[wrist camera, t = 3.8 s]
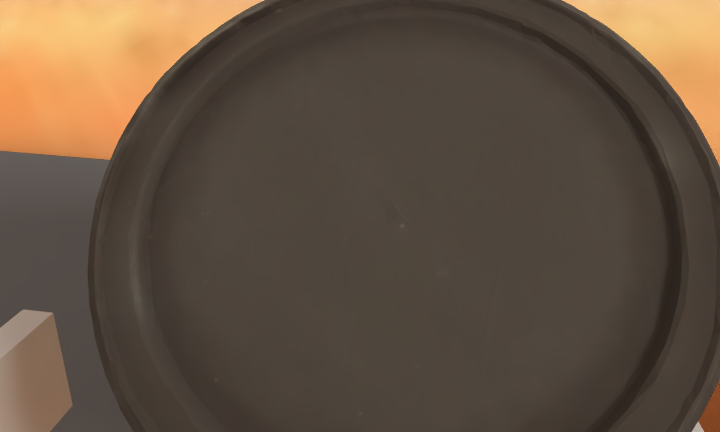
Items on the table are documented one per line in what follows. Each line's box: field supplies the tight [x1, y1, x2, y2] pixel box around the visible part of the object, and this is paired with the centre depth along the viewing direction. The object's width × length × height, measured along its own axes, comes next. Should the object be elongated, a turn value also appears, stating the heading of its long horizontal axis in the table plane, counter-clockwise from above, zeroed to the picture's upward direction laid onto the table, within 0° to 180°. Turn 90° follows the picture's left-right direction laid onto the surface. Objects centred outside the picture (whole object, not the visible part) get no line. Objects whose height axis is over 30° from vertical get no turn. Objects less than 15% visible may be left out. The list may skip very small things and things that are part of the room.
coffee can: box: [87, 0, 720, 432], centre depth 16 cm, size 10×10×14 cm
